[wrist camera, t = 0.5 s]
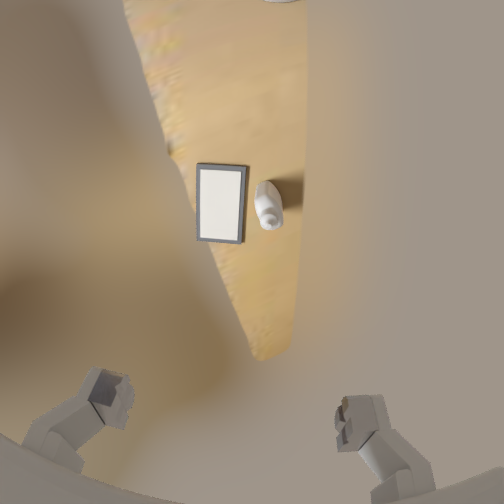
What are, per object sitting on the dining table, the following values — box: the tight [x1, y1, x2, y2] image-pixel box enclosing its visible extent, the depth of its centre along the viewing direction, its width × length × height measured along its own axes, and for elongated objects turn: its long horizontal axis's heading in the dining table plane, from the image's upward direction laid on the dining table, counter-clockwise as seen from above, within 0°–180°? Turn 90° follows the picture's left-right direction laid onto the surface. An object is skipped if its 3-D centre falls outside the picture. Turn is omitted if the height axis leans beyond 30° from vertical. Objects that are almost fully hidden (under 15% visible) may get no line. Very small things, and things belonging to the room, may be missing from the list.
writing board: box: [196, 163, 246, 244], centre depth 51 cm, size 14×8×1 cm, turn 176°
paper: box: [200, 169, 241, 241], centre depth 50 cm, size 12×7×1 cm, turn 176°
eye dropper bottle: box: [255, 181, 283, 230], centre depth 45 cm, size 4×6×12 cm
